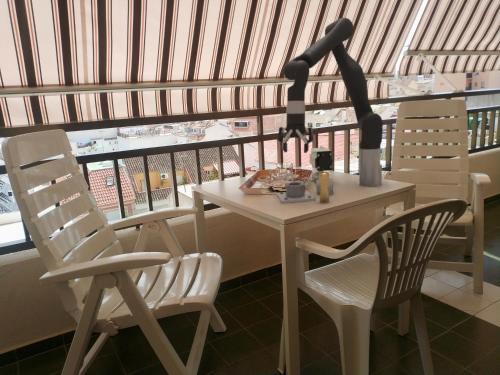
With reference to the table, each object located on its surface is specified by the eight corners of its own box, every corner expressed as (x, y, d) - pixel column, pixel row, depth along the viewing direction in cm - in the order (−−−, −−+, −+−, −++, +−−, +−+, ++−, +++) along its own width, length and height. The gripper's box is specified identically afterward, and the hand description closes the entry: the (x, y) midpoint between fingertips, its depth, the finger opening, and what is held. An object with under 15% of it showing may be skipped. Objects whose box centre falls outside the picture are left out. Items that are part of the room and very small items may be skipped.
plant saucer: (285, 195, 170) (285, 188, 169) (261, 189, 184) (260, 183, 183) (313, 187, 180) (313, 181, 179) (288, 182, 194) (288, 177, 193)
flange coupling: (307, 192, 170) (306, 179, 169) (315, 200, 157) (315, 186, 155) (276, 195, 169) (275, 182, 168) (282, 203, 156) (281, 189, 154)
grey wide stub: (330, 191, 171) (330, 178, 169) (335, 194, 164) (335, 181, 162) (314, 192, 170) (314, 179, 169) (319, 196, 163) (318, 182, 162)
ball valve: (308, 178, 200) (307, 144, 196) (324, 176, 201) (324, 143, 197) (315, 185, 183) (315, 148, 179) (333, 184, 183) (332, 147, 179)
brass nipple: (327, 200, 156) (327, 171, 153) (330, 202, 152) (330, 173, 150) (318, 200, 156) (318, 172, 153) (321, 203, 152) (320, 174, 149)
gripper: (315, 112, 154) (314, 152, 157) (282, 112, 160) (282, 151, 163) (310, 112, 147) (309, 154, 150) (276, 112, 153) (276, 152, 156)
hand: (295, 152), depth 157 cm, fingers open, 8 cm apart
